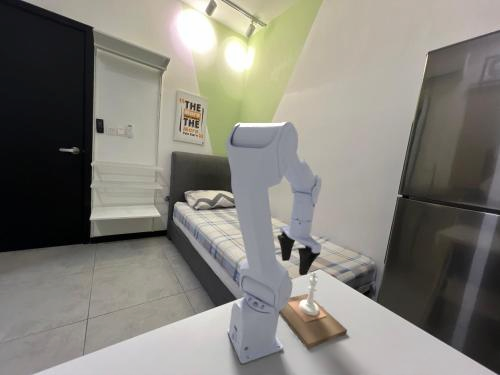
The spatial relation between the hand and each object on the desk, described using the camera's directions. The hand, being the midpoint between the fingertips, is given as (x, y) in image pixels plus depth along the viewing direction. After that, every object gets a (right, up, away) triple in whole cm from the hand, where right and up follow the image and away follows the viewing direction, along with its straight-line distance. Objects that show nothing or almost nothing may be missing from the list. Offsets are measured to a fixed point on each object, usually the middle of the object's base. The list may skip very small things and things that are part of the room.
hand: (293, 266), depth 55 cm
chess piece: (+3, -10, -2) cm, 11 cm away
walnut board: (+2, -11, -4) cm, 12 cm away
